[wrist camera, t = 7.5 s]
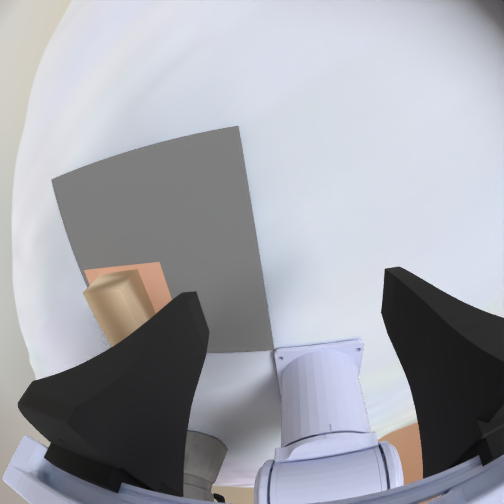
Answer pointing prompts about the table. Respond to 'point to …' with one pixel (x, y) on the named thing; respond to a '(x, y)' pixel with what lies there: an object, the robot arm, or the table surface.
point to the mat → (175, 230)
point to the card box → (119, 303)
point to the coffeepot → (202, 466)
